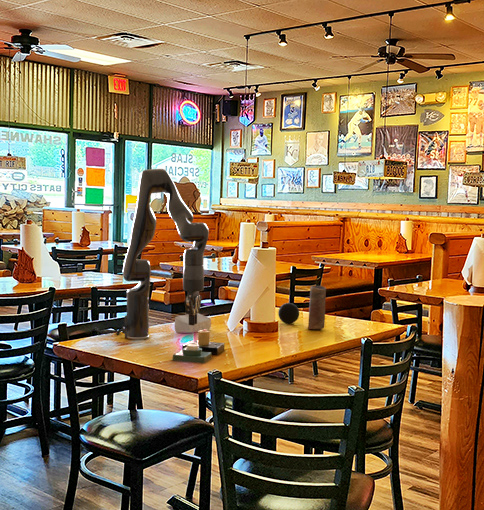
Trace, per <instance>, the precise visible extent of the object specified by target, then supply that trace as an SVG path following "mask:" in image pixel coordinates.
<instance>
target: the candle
mask: <svg viewBox="0 0 484 510" xmlns="http://www.w3.org/2000/svg"><path fill="white" fill-rule="evenodd" d="M326 295H327V288H326V287H325V286H323V285H311V286H310V289H309V306H308V307H309V309H308V322H307V323H308V325H307V329H310V330H314V331H321V330H323V329H325V324H326V323H325V321H326V301H327V300H326V299H327V298H326V297H327V296H326Z"/></svg>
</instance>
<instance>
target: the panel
mask: <svg viewBox="0 0 484 510" xmlns="http://www.w3.org/2000/svg"><path fill="white" fill-rule="evenodd" d="M188 344H197V345H198V347H199V348H202V352H212V355H211V356H216V357H218V356H219V355H221V354H222V353H223V352H224V351H225V345H226V344H225V342H215V341H209V345H199V344H198V340H189V341H187V342H185V343H184V344H182V346H181V350H183V348H186V347H187V345H188Z"/></svg>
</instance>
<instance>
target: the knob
mask: <svg viewBox="0 0 484 510" xmlns="http://www.w3.org/2000/svg"><path fill="white" fill-rule="evenodd" d="M210 333H211V332H210V330H200V331H198V332H197V341H198V344H199V345H209V342H210V338H211V337H210Z"/></svg>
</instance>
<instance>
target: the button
mask: <svg viewBox="0 0 484 510" xmlns="http://www.w3.org/2000/svg"><path fill="white" fill-rule="evenodd" d="M187 350H198V345H197V344H188V345H187Z"/></svg>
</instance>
